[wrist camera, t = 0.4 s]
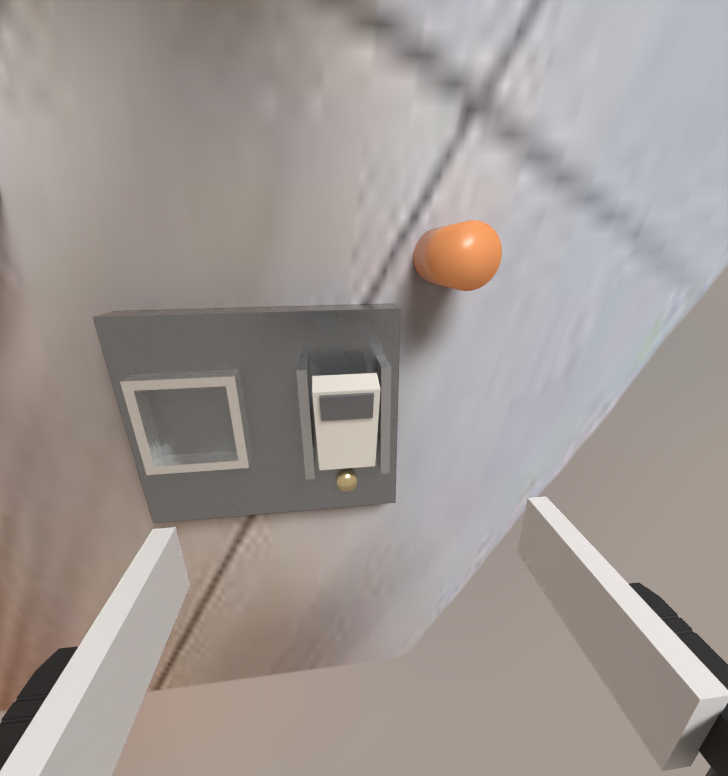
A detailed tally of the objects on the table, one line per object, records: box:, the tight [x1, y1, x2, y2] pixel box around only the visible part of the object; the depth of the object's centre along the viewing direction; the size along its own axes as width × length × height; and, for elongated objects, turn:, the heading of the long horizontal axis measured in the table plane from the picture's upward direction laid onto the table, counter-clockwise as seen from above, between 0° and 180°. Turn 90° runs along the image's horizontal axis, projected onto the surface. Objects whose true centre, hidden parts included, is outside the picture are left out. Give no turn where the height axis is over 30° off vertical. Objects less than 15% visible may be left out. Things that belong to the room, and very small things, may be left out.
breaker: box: [312, 373, 380, 470], centre depth 29 cm, size 9×5×2 cm, turn 1°
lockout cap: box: [413, 220, 502, 291], centre depth 27 cm, size 5×5×7 cm
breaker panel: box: [93, 304, 400, 523], centre depth 31 cm, size 20×24×6 cm
